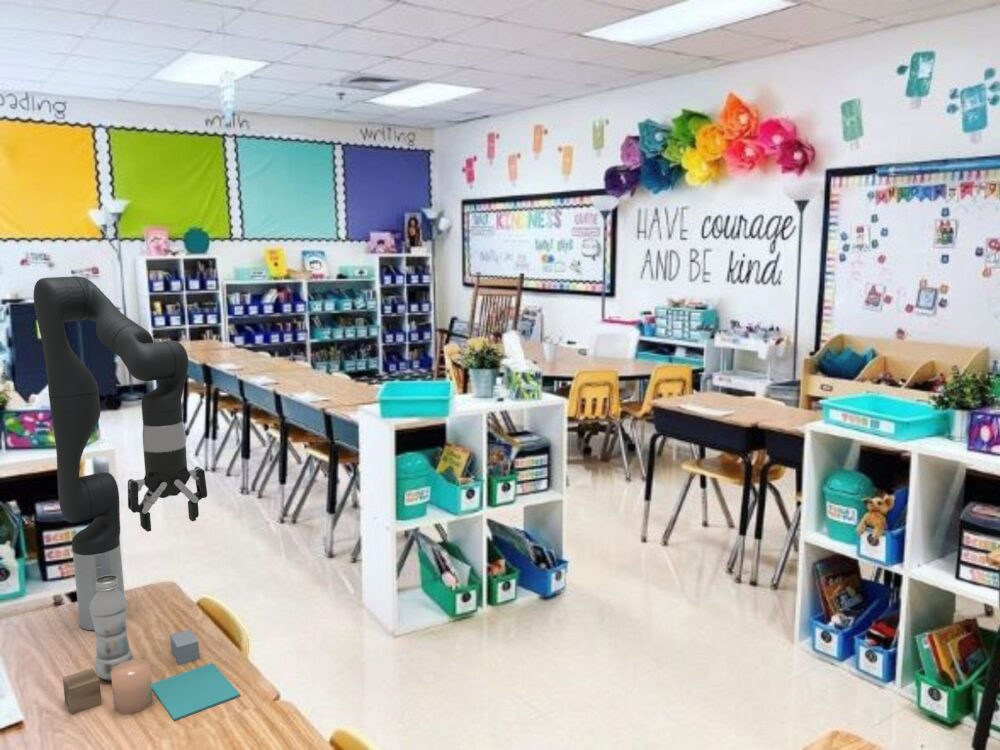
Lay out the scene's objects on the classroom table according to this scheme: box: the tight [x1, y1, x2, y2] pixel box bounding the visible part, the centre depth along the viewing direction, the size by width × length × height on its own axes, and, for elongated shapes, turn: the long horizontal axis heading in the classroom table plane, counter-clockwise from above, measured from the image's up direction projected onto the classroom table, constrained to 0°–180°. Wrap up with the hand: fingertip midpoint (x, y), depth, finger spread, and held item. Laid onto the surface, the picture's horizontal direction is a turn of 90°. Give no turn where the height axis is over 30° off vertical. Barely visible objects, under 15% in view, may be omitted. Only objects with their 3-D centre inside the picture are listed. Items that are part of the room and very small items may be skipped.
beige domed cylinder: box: [111, 658, 154, 715], centre depth 146 cm, size 6×6×7 cm
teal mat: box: [151, 662, 241, 722], centre depth 150 cm, size 14×12×1 cm
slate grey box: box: [169, 628, 200, 666], centre depth 163 cm, size 6×4×4 cm, turn 35°
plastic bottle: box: [90, 575, 134, 681], centre depth 154 cm, size 6×7×20 cm
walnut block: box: [62, 667, 103, 716], centre depth 146 cm, size 5×5×5 cm
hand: (170, 525), depth 157 cm, fingers open, 8 cm apart
